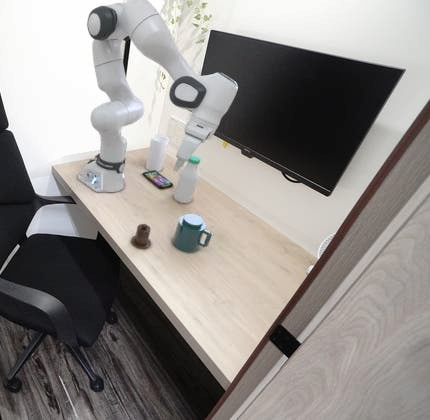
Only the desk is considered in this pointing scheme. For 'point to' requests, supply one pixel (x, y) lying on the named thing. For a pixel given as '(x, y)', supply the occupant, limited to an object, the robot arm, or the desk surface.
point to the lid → (141, 237)
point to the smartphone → (158, 179)
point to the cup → (157, 152)
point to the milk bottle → (187, 181)
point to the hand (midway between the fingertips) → (177, 168)
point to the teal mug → (190, 233)
